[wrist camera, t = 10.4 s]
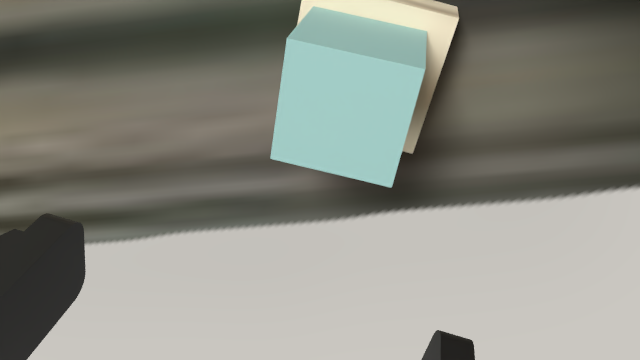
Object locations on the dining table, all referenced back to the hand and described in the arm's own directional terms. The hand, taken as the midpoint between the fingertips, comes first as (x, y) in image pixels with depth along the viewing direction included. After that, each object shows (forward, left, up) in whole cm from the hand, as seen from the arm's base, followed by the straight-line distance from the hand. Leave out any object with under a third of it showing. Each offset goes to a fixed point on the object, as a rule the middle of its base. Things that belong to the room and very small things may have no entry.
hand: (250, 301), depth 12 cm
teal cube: (+2, 0, -20) cm, 20 cm away
